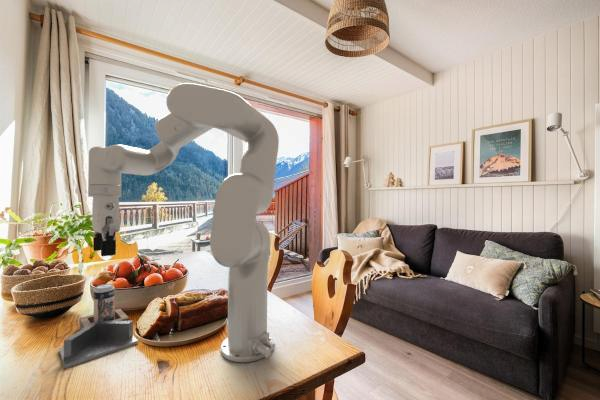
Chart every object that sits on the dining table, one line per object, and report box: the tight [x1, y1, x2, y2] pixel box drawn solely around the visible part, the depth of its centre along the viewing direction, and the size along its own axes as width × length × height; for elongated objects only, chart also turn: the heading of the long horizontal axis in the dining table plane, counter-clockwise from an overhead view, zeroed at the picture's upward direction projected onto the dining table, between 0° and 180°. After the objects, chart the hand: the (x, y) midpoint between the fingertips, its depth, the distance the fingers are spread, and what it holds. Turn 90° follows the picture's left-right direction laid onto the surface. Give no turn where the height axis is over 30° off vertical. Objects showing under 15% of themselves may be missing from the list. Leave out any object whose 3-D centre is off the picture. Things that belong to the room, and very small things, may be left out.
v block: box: [58, 320, 139, 370], centre depth 66 cm, size 10×14×5 cm
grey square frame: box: [78, 308, 130, 331], centre depth 75 cm, size 10×10×3 cm
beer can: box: [93, 283, 116, 322], centre depth 75 cm, size 5×5×12 cm
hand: (104, 252), depth 75 cm, fingers open, 9 cm apart
